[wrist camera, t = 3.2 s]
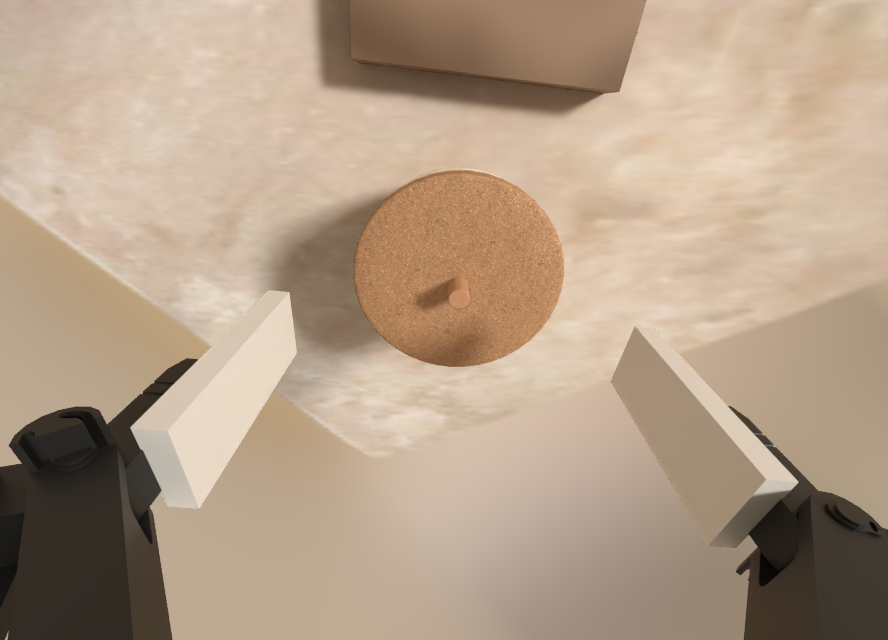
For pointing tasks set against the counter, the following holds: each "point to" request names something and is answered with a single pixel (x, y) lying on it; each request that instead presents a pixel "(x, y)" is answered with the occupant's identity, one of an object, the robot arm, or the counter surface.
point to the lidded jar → (458, 268)
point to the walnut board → (501, 39)
